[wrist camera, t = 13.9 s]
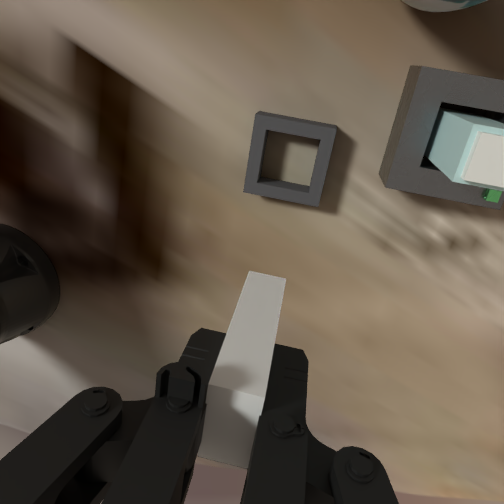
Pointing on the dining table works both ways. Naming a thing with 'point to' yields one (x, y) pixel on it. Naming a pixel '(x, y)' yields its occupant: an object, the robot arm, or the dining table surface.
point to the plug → (468, 148)
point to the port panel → (420, 127)
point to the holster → (282, 188)
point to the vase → (441, 4)
